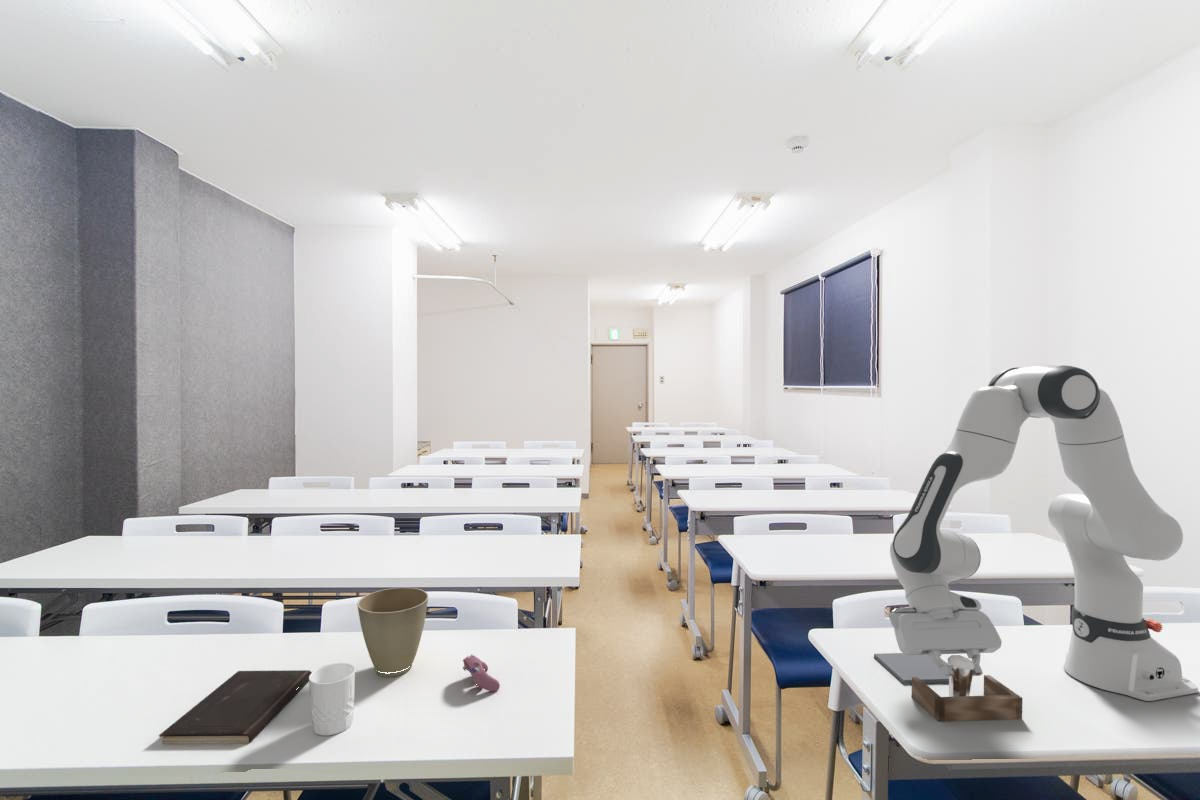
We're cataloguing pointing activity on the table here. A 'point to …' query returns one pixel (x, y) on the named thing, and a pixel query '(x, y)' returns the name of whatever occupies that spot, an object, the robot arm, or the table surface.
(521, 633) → the table surface
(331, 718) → the white cup
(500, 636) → the table surface
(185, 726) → the hardcover book
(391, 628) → the plant pot
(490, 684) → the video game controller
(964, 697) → the walnut cubby
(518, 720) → the table surface
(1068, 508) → the robot arm
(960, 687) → the milkshake
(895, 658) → the grey pad
